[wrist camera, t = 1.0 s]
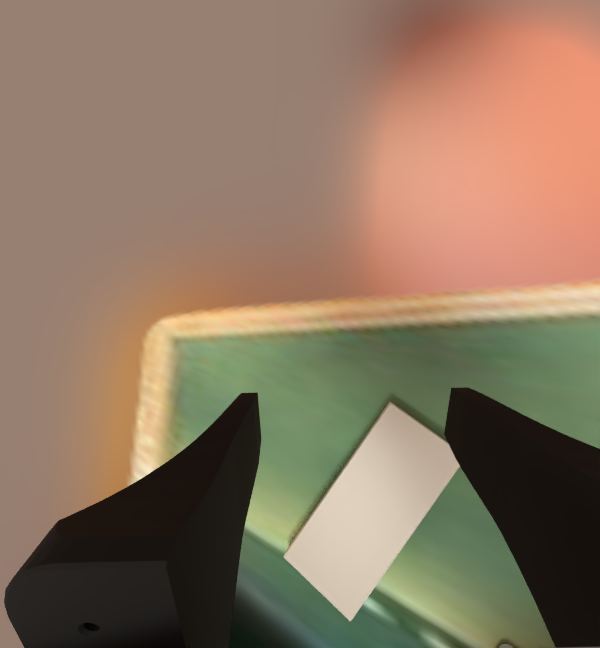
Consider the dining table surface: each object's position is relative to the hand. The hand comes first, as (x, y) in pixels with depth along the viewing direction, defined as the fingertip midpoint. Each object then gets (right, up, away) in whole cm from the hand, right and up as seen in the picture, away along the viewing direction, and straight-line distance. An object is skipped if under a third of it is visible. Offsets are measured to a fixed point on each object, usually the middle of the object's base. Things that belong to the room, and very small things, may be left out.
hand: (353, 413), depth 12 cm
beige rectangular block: (+4, -10, +13) cm, 17 cm away
